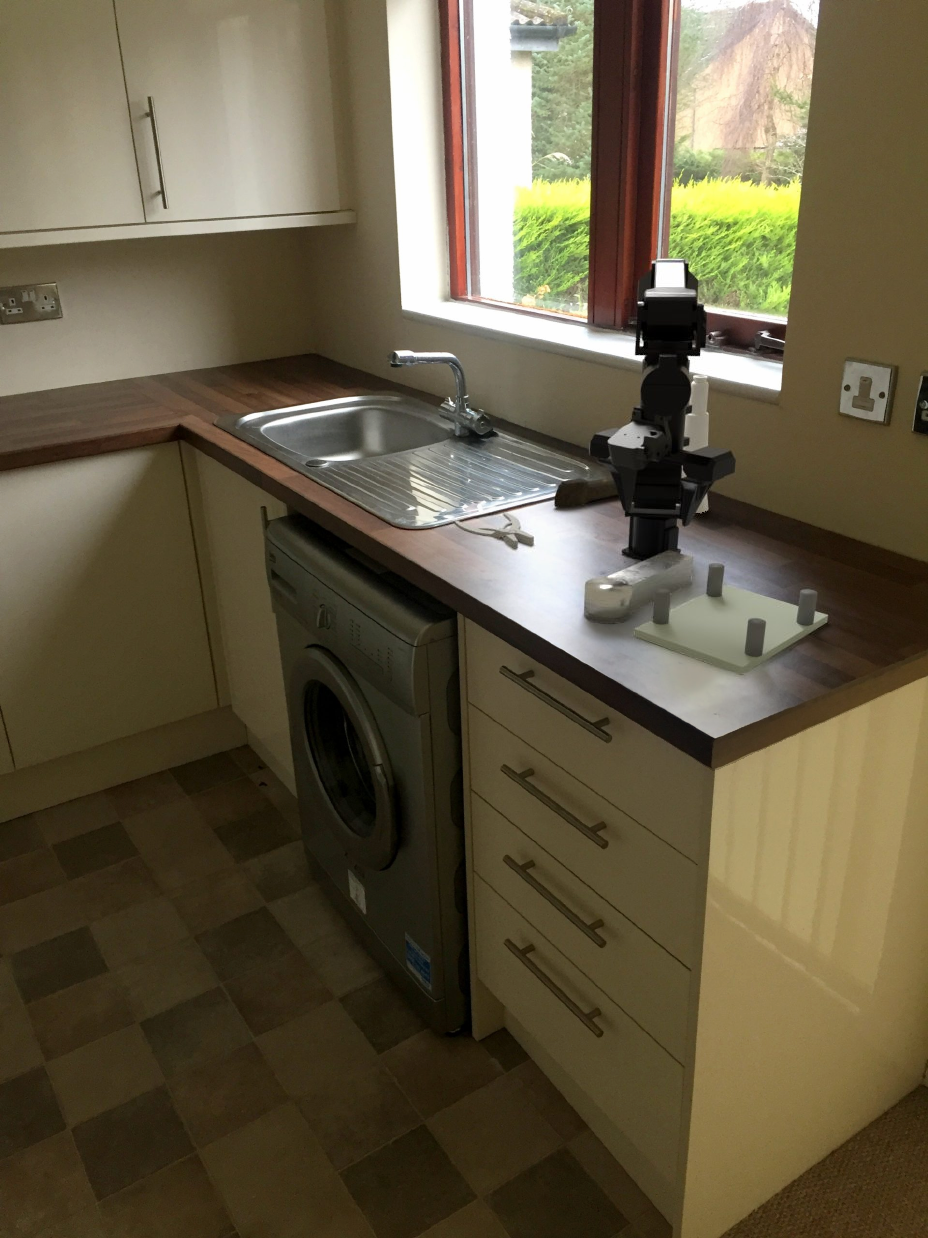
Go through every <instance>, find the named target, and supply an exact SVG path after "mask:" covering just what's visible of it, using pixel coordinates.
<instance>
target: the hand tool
mask: <svg viewBox="0 0 928 1238" xmlns="http://www.w3.org/2000/svg"><path fill="white" fill-rule="evenodd" d="M554 495H555V496H554V504H553V505H554V507H555V508H571V507H579V506H584V505H586V504H587V503H588V502H590V501H595V500H599V499H606V498H608V497H615V496H619V495H618V492H617V488H616V485H615V482H614V480H613V477H612V475H611V476H609V477H604V478H599V479H591V480H588V479H585V478H581V477H579V478H578V477H577V478H575V479H566V480H562V481H561V482H560V483H559V484H558V487H557V489H556V491H555V494H554Z"/></svg>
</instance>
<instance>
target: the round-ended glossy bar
mask: <svg viewBox="0 0 928 1238" xmlns="http://www.w3.org/2000/svg"><path fill="white" fill-rule="evenodd" d="M693 565H694V556H691V555H688V554H685V553H677V552H674V551H670V550H668V551H665V552H663V553H661V554H658V555H656V556H654V557H651V558H649V559H647V560H643V561H640V562H638V563H636V564H632V565H630V566H628V567H626V568H623V569H622V570H619V571H617V572H614V573H612V574H610V575H608V576H597V577H593V578H590V579H589V580H587V581H585V584H584V600H583V615H584V618H586V619H587V620H589V621H592V622H594V623H598V624H599V623H600V624H607V625H609V624H610V625H611V624H613V625H615V624H620V623H623V622H626V621H628V620H629V619H631V618H632V617H631V615H632V613H634V612H636V611H638V610H641V609H643V608H644V607H646V606H648V605H651V604H654V591H655V590H656V589H660V588H663V589H668V590H670V591H671V595H672V594H673V593H676V592H678V591H680V590H682V589H684V588H686V587H688V586H691V585H692V576H693V575H692V574H693V567H694V566H693Z"/></svg>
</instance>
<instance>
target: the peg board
mask: <svg viewBox="0 0 928 1238" xmlns="http://www.w3.org/2000/svg"><path fill="white" fill-rule="evenodd" d="M707 569H708V571H707V579H706V592H705V593H703V594H700V595H699V596H697V597H695V598H693V599H691V600H689V601H687V602H685V603H683V604H681V605H678V606H677V607H674V609H671V595H672V594H671V591H670V590H668V589H663V588H660V589H656V590H655V591H654V602H653V603H652V604H653V606H652V608H653V609H652V617H651V618H652V619H651V620H649V621H647V622H645V623H643V624H641V625H639V626H637V627H635V628H634V633H633V634H634V635H633V636H634V637H636V638H639V639H640V640H641V639H642V640H644V641H647V642H650V643H652V644H655V645H658V646H660V647H663V648H666V649H669V650H671V651H674V650H675V652H677V653H680V654H682V653H683V655H686V656H688V657H691V658H694V659H697V660H698V661H702V662H704V663H707V664H710V665H713V666H715V667H718V668H721V669H724V670H727V671H729V672H733V673H735V674H738V675H741V676H742V675H744V674H746V673H747V672H749V671H750V670H752V669H753V668H756V667H757V666H758V665H760V664H762V663H763V662H765V661H766V660H767V661H768V659H770V658H772V657H773V656H775V655H776V654H779V653H780V652H781V651H783V650H785V649H786V648H788V647H790V646H792V644H794V643H796V642H797V641H799V640H801V639H802V638H804V637H806V636H807V635H809V634H810V633H812V632H814V631H815V630H817V629H818V628H820V627H821V626H824V625H825V624H826V623H828V620H829V619H828V618H829V615H828V614H826V613H822V612H819V611H816V607H817V602H818V601H817V599H818V592H817V590H814V589H808V588H806V589H801V590H800V592H799V600H798V605H795V604H793V603H789V602H786V601H782V600H779V599H776V598H772V597H769V596H766V595H762V594H759V593H755V592H753V591H749V590H745V589H742V588H739V587H736V586H733V585H729V584H725V583H724V577H725V575H724V574H725V564H723V563H720V562H719V563H718V562H713V563H708V568H707ZM670 609H671V610H670Z"/></svg>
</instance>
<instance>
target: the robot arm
mask: <svg viewBox="0 0 928 1238" xmlns="http://www.w3.org/2000/svg"><path fill="white" fill-rule="evenodd" d="M689 267H690V260H685V259H684V258H656V259H655V260H651V269H650V270H648V271H647V272H646V273H645V274H644V275H642V277H640V278H639V279H638V282H637V296H636V297H637V299H636V327H635V328H636V329H635V330H636V331H635V344H634V345H635V347H634V356H643V357H644V358H643V359H642V361H641V362H642V363H641V364H642V365H641V377H640V378H641V382H640V391H639V392H640V394H639V395H640V399H639V405H637V406H633V410H632V411H631V418H630V422H629V423H628V424H626V425H624V426H622V427H621V428H619V427H612V428H609V429H606V430H603V431H599V432H596V433H594V434H593V435H592V437H591V438H590V440H589V443H588V446H589V447H588V455H589V456H590V457H595V458H596V462H597V463H598V464H601V465H603V466H604V468H606V469H607V471H609V473H610V474H611V476H612V477H613V480H614V482H615V485H616V488H617V492H618V495H617V496H618V498H619V501H620V504H621V508H622V510H623V511H624V518H629V526H628V527H629V528H628V529H629V530H628V542H627V543H628V544H627V545H628V546H626V547H625V548H622V549H621V554H622V555H627V556H628V557H629V556H630V557H633V558H636V559H640V560H643V561H645V560H647V559H649V558H651V557H654V556H656V555H658V554H661V553H663V552H665V551H668V550H670V551H674V552H677V553H681V551H682V549H681V548H678V546H679V533H680V526H678V520H681V526H682V527H688V526H689V525H690V524H691V522H692V520H693V518H694V516H695V515H696V514H695V513H696V511H697V509H698V508H699V506H700V504H701V502H702V500H703V499H704V497H705V495H706V494H707V495H708V492H709V491H710V489H711V488H712V487H713V485H714V484H715V483H716V481H720V480H722V479H725V477H727V476H729V475H733V474H734V473H735V471H736V460H737V459H736V457H735V455H734V453H733V451H732V450H729V449H723V448H720V447H716V446H715V447H714V446H711V445H710V446H709V445H708V446H706V447H703V448H700V449H697V450H695V451H692V452H691V451H687V450H683V447H686V446H689V442H690V437H685V436H684V433H685V420H686V415H687V414H691V413H692V405H689V404H690V397H691V383H692V382H691V377H690V368H691V367H690V366H691V365H690V364H691V360H690V359H689V357H701V351H702V349H706V344H707V343H706V342H707V325H708V324H707V321H708V319H707V318H708V312H707V311H706V310H705V304H704V303H703V302H700V301H699V300H698V299H699V296H698V295H699V279H698V278H697V277H696V276H695V275H694V274H693V273H692V272H691V271H690V270H689ZM698 301H699V302H698ZM641 341H642V344H643V345H642V346H641ZM693 342H695V343H693ZM693 344H695V345H693ZM682 466H683V469H682ZM682 470H683V472H684V473H685V475H686V477H684V478H682ZM676 504H679V506H676ZM681 554H682V553H681Z"/></svg>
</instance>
